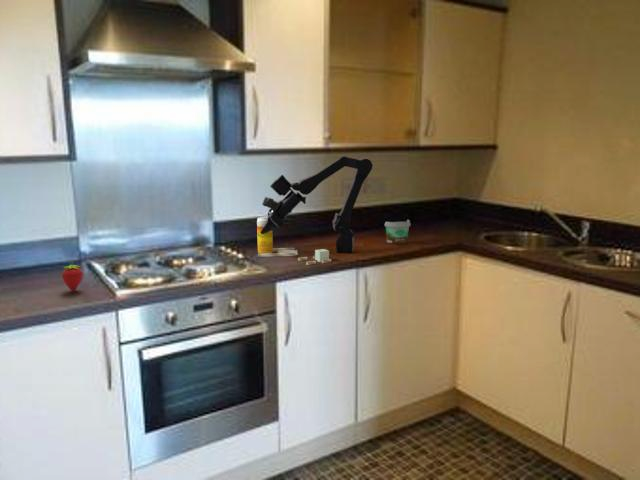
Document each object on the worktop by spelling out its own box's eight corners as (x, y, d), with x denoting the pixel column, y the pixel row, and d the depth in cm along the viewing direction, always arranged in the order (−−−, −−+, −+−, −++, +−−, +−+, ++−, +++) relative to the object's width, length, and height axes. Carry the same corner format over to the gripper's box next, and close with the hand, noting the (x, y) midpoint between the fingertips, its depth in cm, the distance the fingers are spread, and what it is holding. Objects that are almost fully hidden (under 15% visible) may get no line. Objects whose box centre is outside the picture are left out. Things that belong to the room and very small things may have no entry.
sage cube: (324, 259, 216) (324, 248, 215) (329, 261, 212) (329, 250, 212) (315, 260, 214) (315, 250, 213) (319, 262, 211) (319, 251, 210)
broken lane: (321, 257, 218) (321, 255, 218) (331, 261, 210) (331, 259, 210) (298, 260, 214) (298, 257, 213) (307, 264, 206) (307, 262, 206)
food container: (391, 246, 238) (391, 223, 236) (384, 243, 244) (384, 221, 242) (415, 243, 243) (416, 221, 241) (407, 241, 249) (408, 219, 247)
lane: (294, 250, 232) (294, 247, 232) (295, 255, 221) (295, 253, 221) (258, 251, 231) (258, 248, 231) (257, 256, 220) (257, 254, 220)
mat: (296, 250, 231) (296, 250, 231) (297, 254, 223) (297, 254, 223) (277, 251, 230) (277, 250, 230) (277, 255, 222) (277, 254, 222)
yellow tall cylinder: (259, 255, 222) (258, 218, 219) (256, 252, 228) (255, 216, 225) (274, 254, 224) (273, 218, 221) (271, 251, 229) (270, 215, 227)
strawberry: (84, 287, 178) (81, 257, 176) (84, 293, 172) (81, 261, 170) (64, 289, 176) (61, 258, 174) (63, 295, 169) (60, 263, 167)
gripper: (273, 187, 230) (247, 214, 231) (273, 192, 212) (245, 221, 213) (292, 206, 232) (267, 232, 234) (294, 212, 214) (266, 241, 215)
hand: (261, 231), depth 224 cm, fingers open, 7 cm apart
